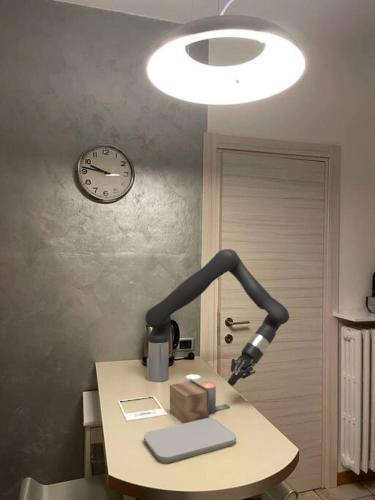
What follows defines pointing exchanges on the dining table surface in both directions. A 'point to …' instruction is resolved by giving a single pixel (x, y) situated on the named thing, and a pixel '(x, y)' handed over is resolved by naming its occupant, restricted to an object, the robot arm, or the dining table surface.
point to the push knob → (211, 394)
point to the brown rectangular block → (190, 402)
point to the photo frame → (143, 412)
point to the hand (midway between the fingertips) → (230, 384)
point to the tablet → (188, 439)
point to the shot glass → (193, 378)
